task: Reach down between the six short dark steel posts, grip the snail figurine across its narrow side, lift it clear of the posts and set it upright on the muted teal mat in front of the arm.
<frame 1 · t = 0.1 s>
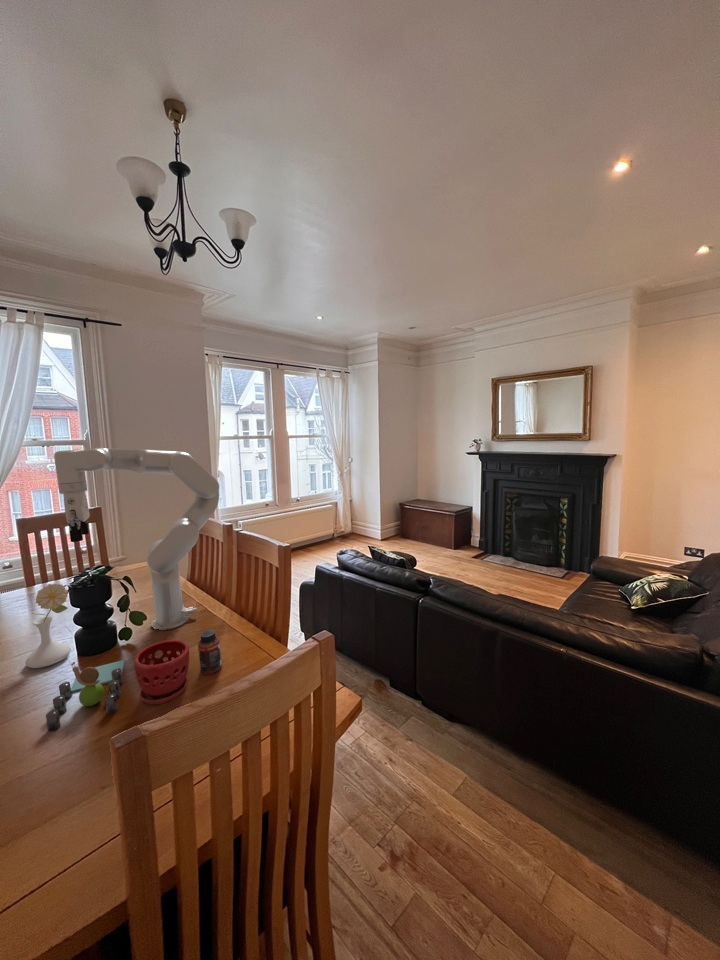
hand: (80, 537, 130), 37 cm above the table, tool pointing down, fingers open, 9 cm apart
spacer posts: (88, 704, 102), on the table
plant pot: (166, 692, 105), on the table
teal mat: (99, 676, 113), on the table
snail figurine: (91, 704, 102), on the table
supplement bottle: (211, 669, 115), on the table
flower in vase: (52, 660, 123), on the table
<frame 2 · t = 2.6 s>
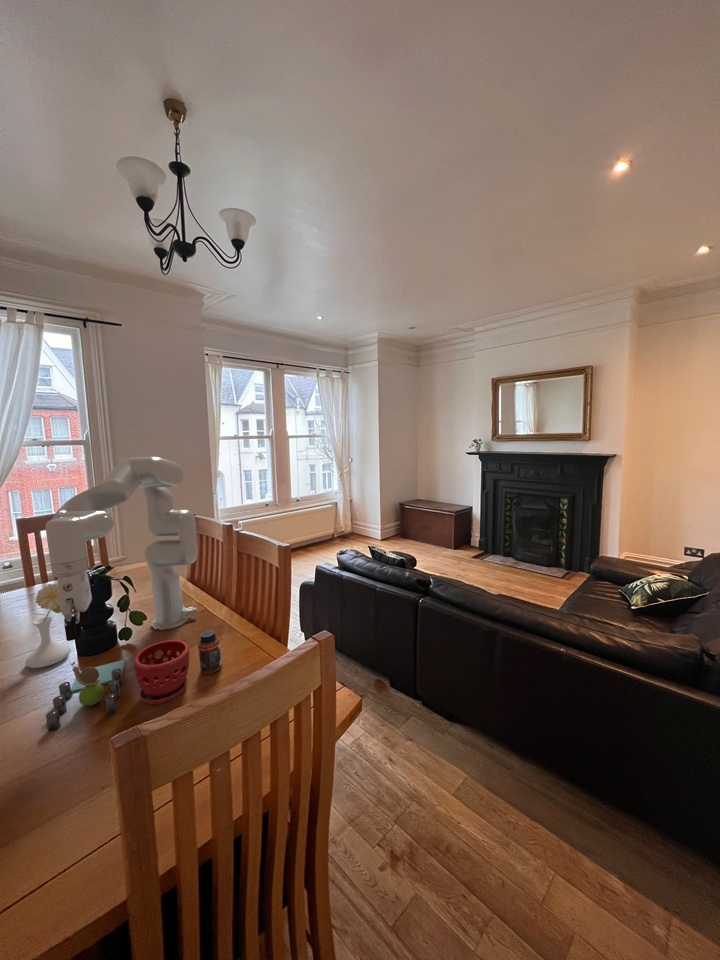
hand: (79, 630, 99), 21 cm above the table, tool pointing down, fingers open, 9 cm apart
nothing on the table moved.
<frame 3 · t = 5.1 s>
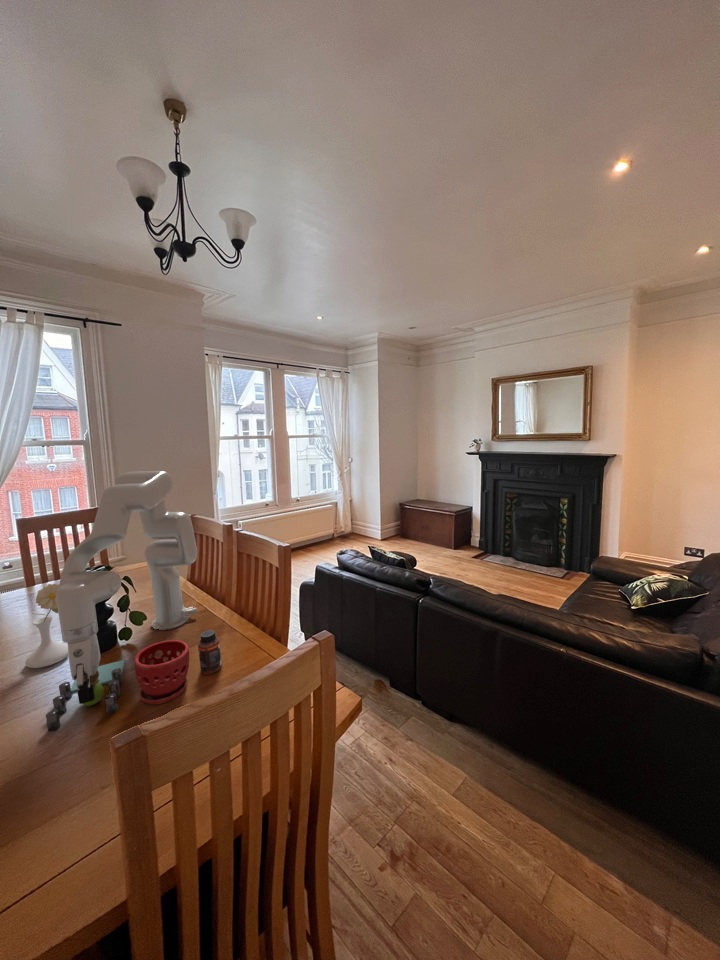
hand: (89, 693, 101), 3 cm above the table, tool pointing down, fingers closed on snail figurine, 5 cm apart
snail figurine: (91, 704, 102), on the table, touching gripper
everything else where it was.
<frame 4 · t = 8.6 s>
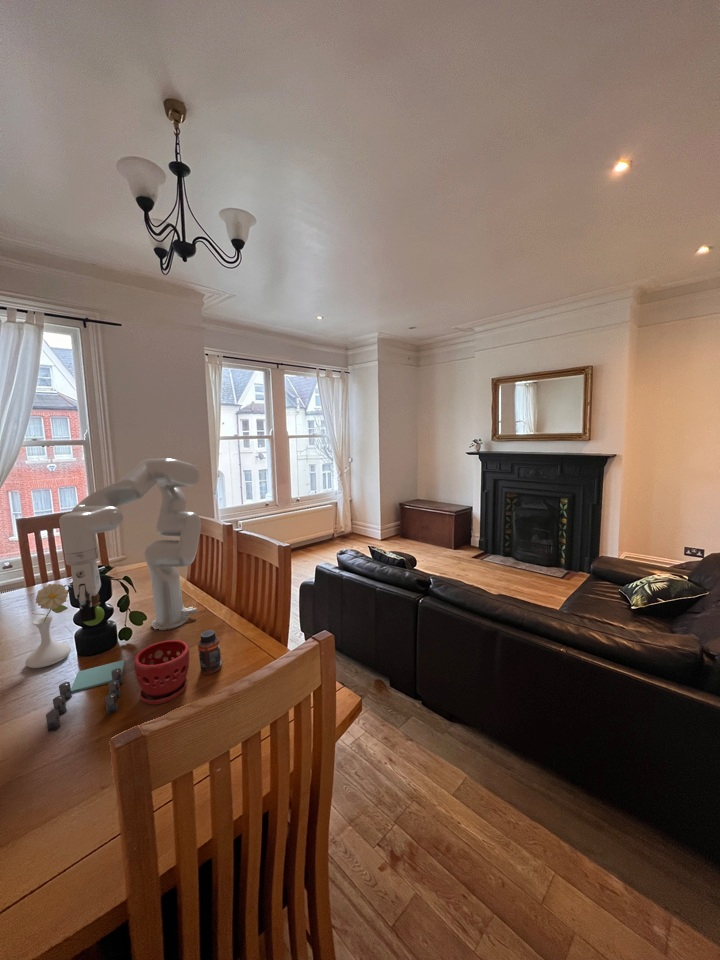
hand: (91, 615, 111), 19 cm above the table, tool pointing down, fingers closed on snail figurine, 5 cm apart
snail figurine: (92, 625, 112), point 16 cm above the table, touching gripper
everything else where it was.
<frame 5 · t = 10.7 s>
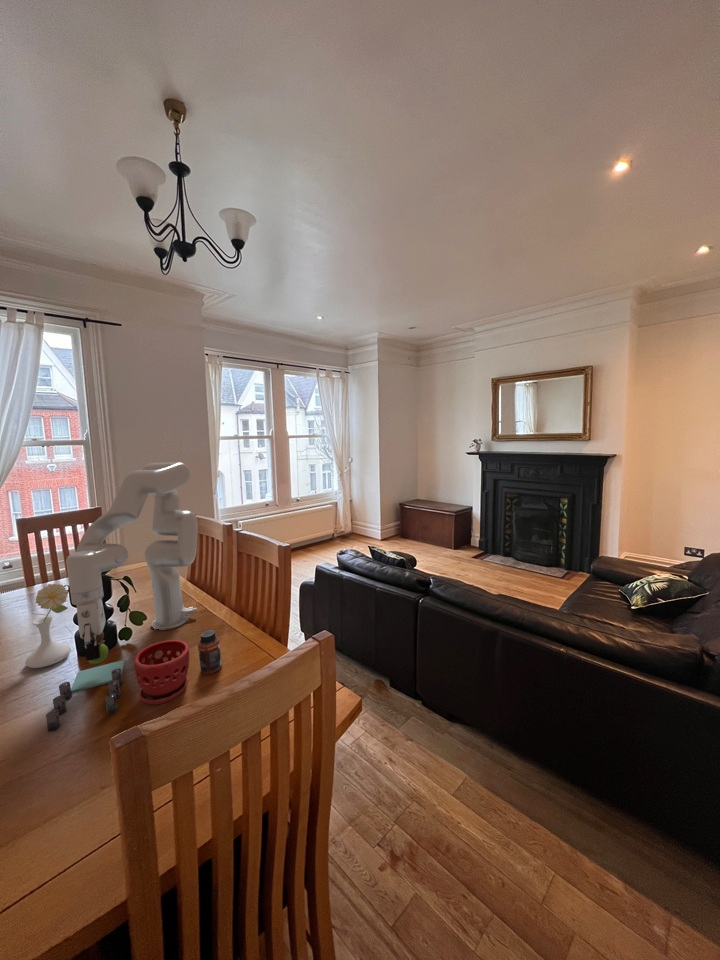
hand: (95, 653, 112), 8 cm above the table, tool pointing down, fingers closed on snail figurine, 5 cm apart
snail figurine: (96, 662, 113), point 4 cm above the table, touching gripper
everything else where it was.
when the fingers open (4 cm above the table, at t = 12.2 s): snail figurine stays where it is, resting on teal mat.
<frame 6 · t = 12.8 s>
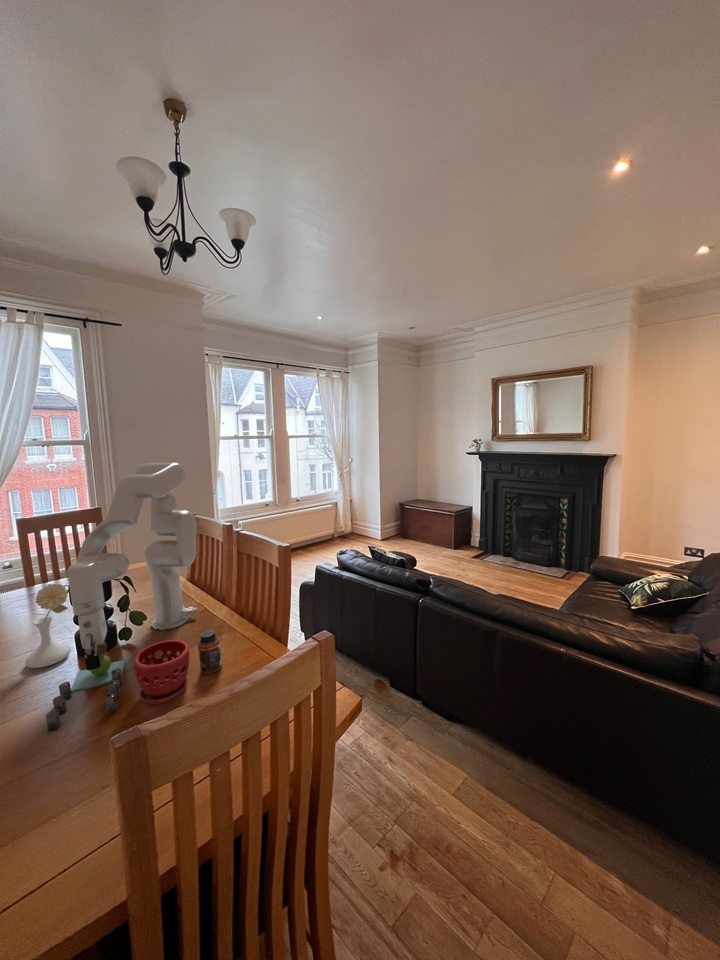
hand: (96, 659, 113), 5 cm above the table, tool pointing down, fingers open, 9 cm apart
snail figurine: (99, 674, 114), resting on teal mat
everything else where it was.
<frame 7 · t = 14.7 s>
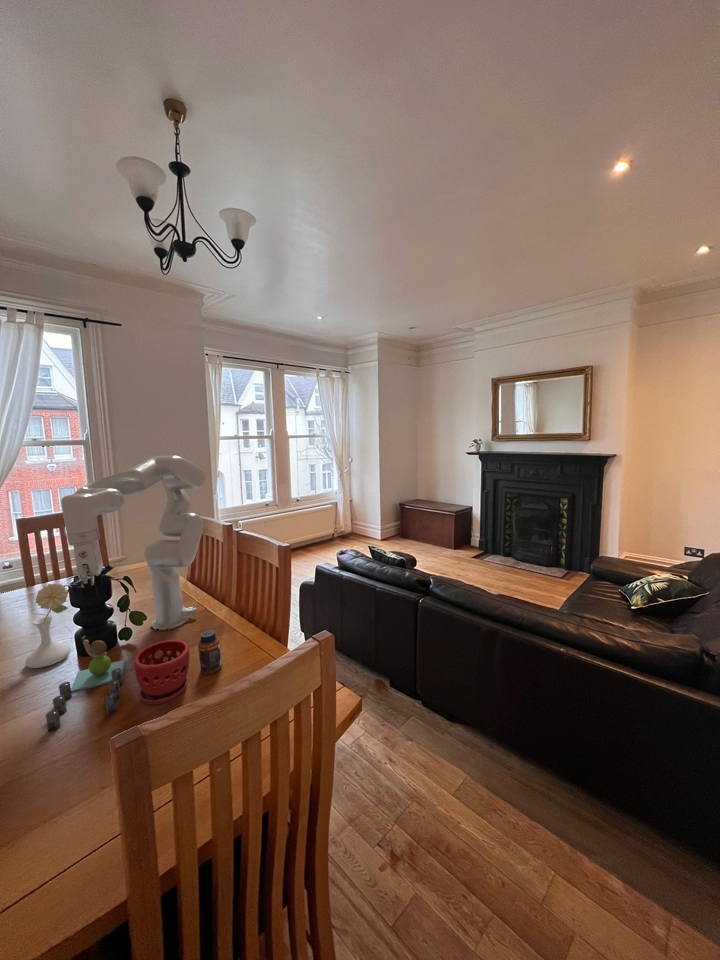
hand: (93, 592, 113), 25 cm above the table, tool pointing down, fingers open, 9 cm apart
nothing on the table moved.
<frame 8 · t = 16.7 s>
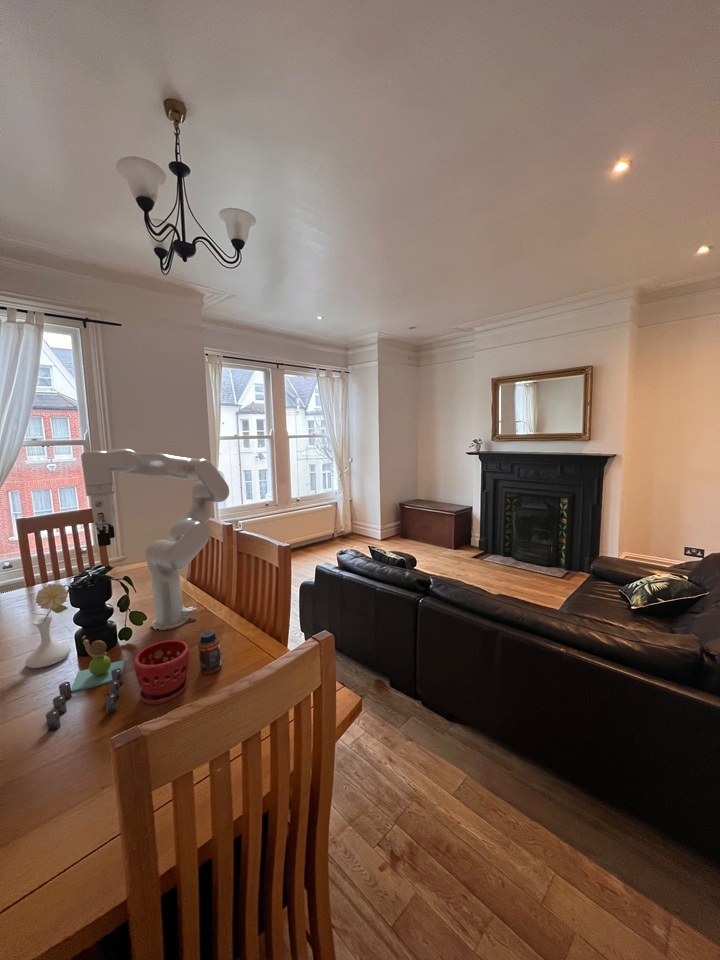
hand: (107, 541, 125), 36 cm above the table, tool pointing down, fingers open, 9 cm apart
nothing on the table moved.
at the end: snail figurine inside the target area on the teal mat (0.4 cm from its centre), point 0.4 cm above the teal mat's base; snail figurine tilted 0°; the gripper is holding nothing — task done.
